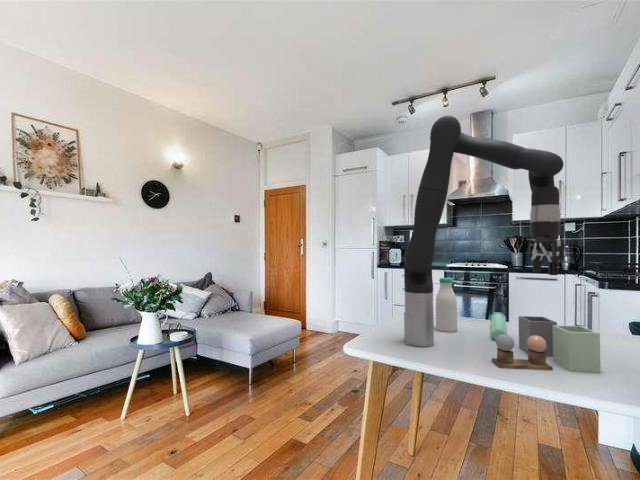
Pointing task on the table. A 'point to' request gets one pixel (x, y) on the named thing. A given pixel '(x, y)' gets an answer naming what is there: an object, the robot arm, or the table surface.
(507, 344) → the grey ball
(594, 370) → the pair of storage bins
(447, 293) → the milk bottle
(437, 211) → the robot arm
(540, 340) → the terracotta ball
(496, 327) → the container
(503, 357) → the rack
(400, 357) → the table surface
